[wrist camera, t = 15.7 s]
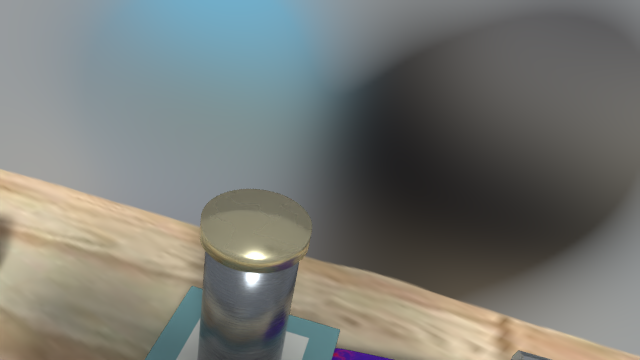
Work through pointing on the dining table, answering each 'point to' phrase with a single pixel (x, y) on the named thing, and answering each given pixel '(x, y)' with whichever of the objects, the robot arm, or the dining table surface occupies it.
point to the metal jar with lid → (249, 273)
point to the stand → (183, 330)
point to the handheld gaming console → (354, 355)
